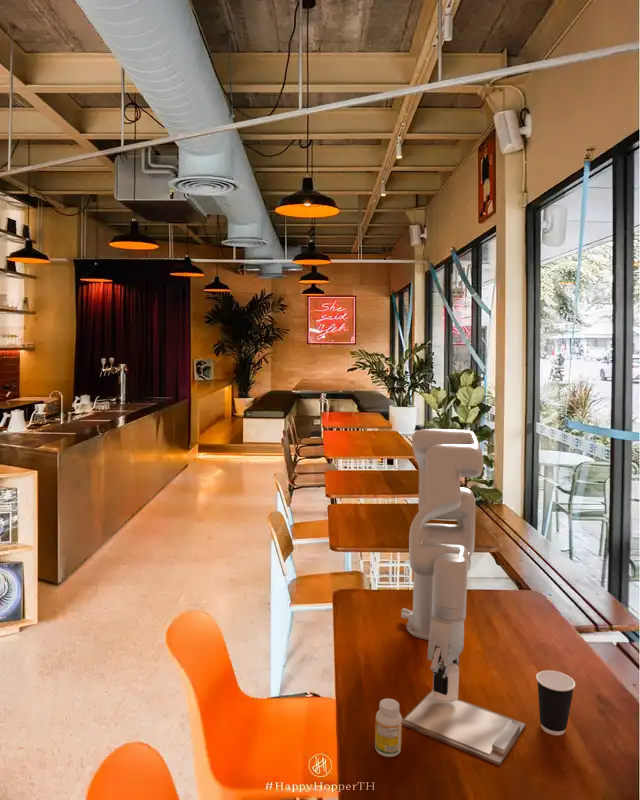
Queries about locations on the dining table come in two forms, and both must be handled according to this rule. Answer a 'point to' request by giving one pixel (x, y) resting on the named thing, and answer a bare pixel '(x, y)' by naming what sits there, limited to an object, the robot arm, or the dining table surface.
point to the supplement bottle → (388, 728)
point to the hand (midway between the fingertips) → (445, 686)
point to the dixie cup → (554, 700)
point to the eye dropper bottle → (449, 684)
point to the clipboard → (465, 727)
